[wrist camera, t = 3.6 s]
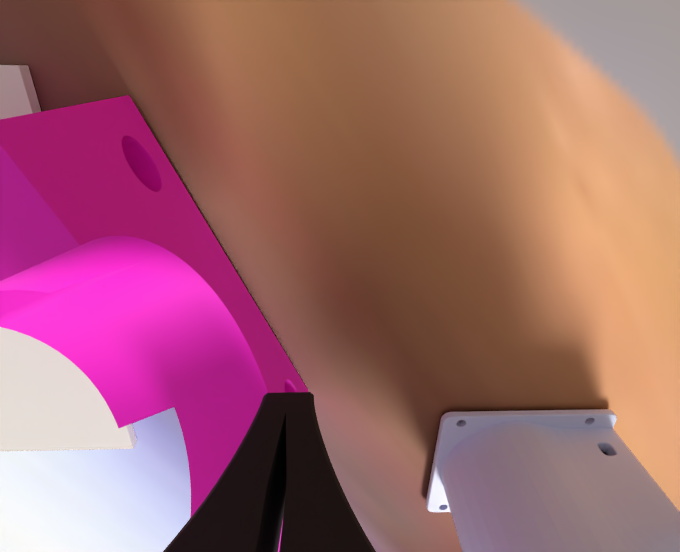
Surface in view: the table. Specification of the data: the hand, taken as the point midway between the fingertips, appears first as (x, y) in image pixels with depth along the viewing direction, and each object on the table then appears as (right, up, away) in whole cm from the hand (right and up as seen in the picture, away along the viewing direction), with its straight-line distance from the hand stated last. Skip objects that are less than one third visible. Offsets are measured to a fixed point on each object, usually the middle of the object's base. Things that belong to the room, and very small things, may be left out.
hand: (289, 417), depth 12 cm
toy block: (-6, +3, +6) cm, 9 cm away
